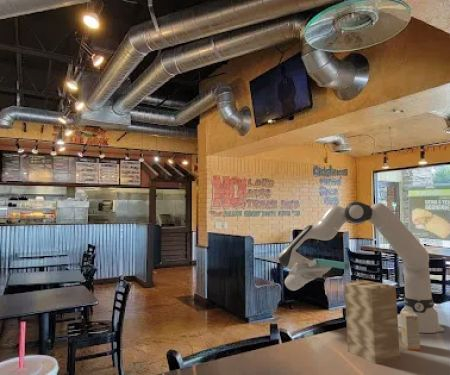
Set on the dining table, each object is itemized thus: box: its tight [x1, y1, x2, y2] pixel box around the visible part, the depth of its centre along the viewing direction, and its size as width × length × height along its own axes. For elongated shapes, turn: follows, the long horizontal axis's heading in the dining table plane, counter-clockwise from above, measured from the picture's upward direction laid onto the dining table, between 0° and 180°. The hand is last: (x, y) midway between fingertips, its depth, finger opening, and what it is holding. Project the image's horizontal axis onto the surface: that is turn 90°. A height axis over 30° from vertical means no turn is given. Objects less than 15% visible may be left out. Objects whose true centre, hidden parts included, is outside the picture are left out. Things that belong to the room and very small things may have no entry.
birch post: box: [344, 279, 401, 364], centre depth 139 cm, size 14×12×27 cm
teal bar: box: [312, 258, 350, 270], centre depth 161 cm, size 21×2×2 cm, turn 23°
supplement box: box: [400, 310, 421, 351], centre depth 145 cm, size 8×5×13 cm, turn 168°
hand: (319, 260), depth 168 cm, fingers closed on teal bar, 2 cm apart
